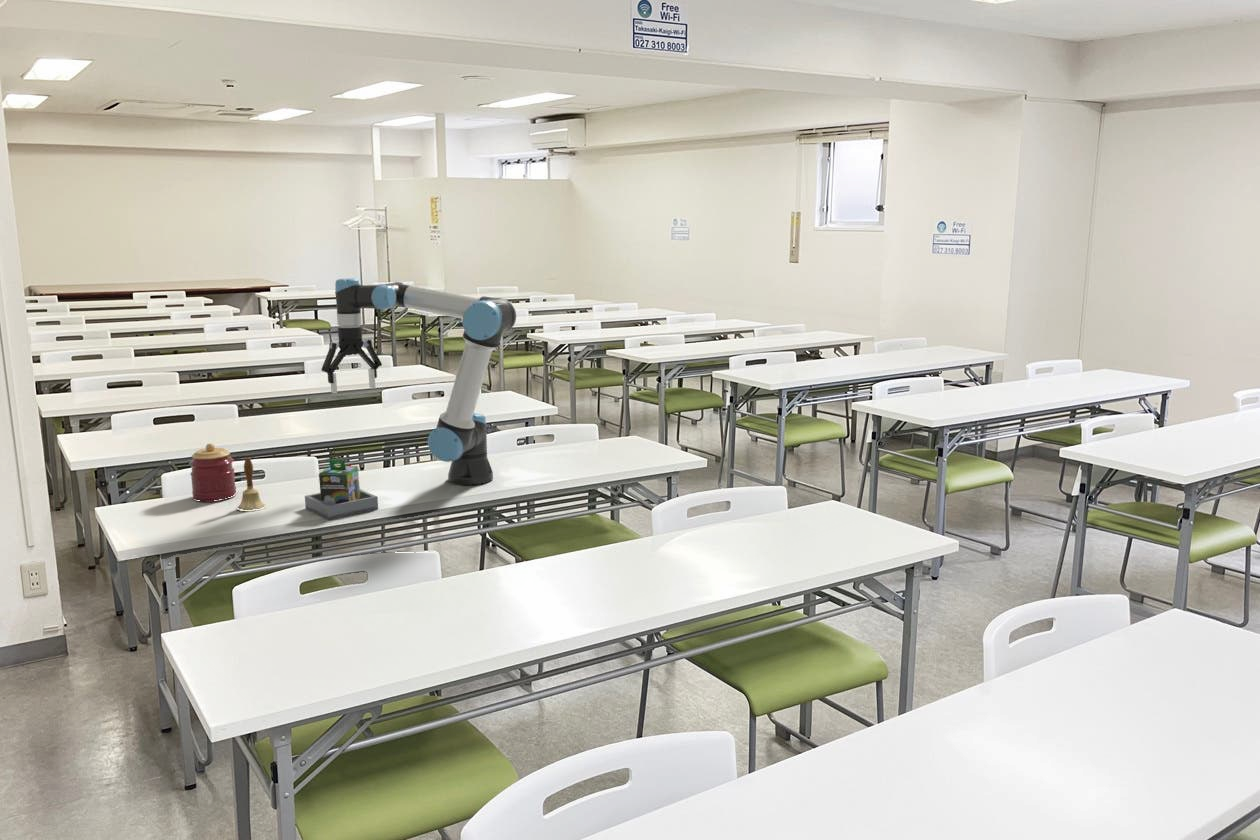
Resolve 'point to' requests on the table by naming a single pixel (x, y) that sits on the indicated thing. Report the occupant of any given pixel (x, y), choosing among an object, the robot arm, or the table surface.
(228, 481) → the canister
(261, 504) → the hand bell
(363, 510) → the tray
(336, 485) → the chalk box
